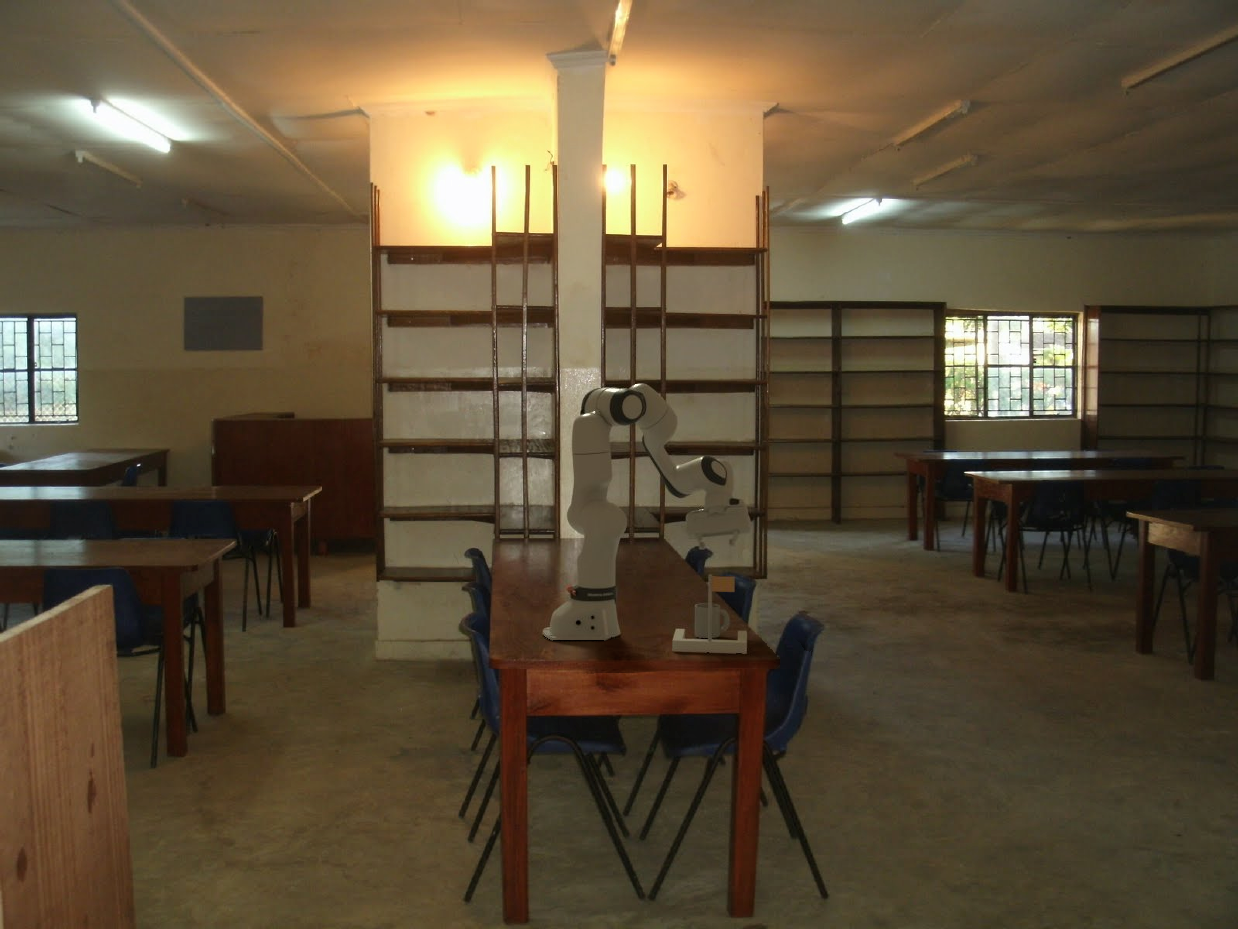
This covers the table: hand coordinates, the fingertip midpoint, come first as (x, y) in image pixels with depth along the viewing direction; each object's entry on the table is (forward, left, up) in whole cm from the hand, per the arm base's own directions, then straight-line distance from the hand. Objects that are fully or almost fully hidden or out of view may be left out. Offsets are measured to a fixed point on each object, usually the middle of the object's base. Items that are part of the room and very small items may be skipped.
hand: (716, 547), depth 325 cm
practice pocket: (-11, -27, -23) cm, 37 cm away
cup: (-6, -15, -24) cm, 29 cm away
